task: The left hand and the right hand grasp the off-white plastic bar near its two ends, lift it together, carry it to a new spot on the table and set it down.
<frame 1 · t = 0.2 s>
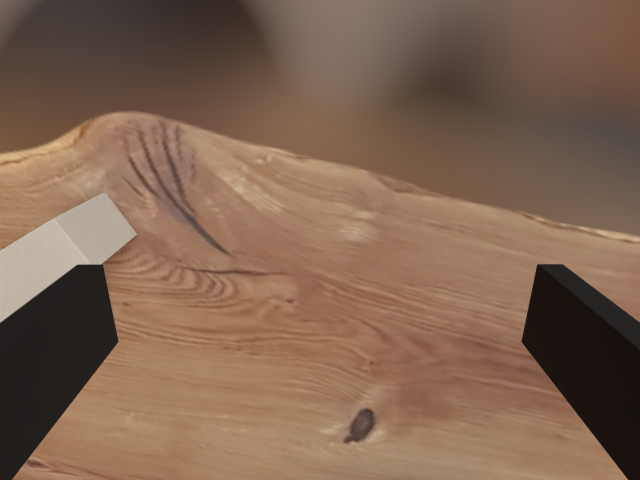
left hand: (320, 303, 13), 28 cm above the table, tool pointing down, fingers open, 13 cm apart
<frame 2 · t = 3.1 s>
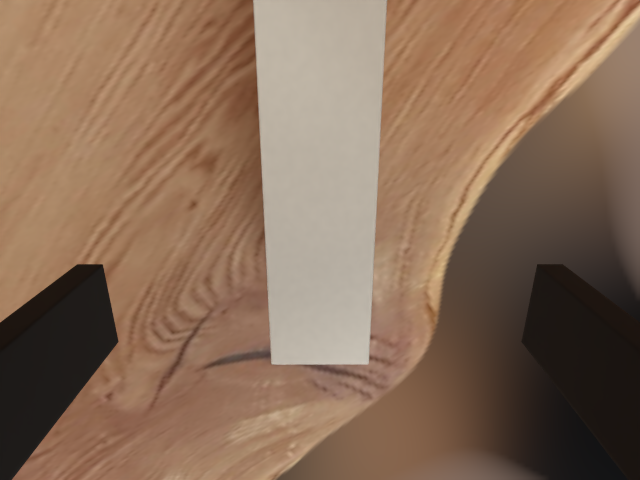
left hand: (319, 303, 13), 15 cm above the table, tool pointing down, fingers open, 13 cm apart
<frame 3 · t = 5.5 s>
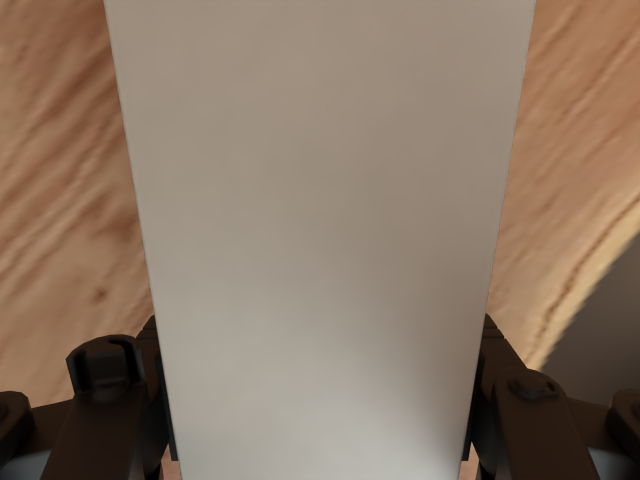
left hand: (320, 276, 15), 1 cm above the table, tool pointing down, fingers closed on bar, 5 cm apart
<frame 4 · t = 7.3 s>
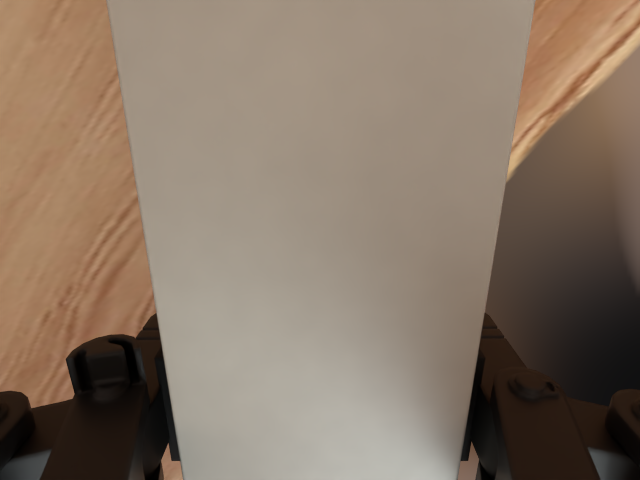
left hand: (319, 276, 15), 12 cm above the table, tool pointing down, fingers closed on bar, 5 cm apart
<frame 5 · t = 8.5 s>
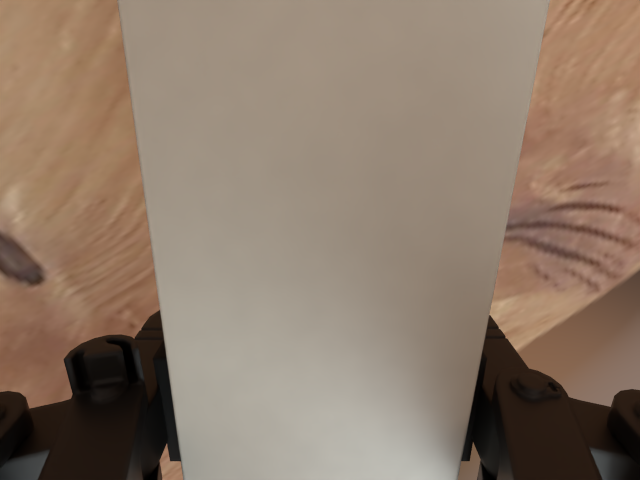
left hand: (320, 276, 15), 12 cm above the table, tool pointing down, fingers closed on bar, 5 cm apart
when the left hand's fingers open (2 cm above the table, at t = 11.6 s): bar drops 1 cm, on the table.
when the right hand's fingers open (5 cm above the table, at t = 11.8 s): bar stays where it is, on the table.
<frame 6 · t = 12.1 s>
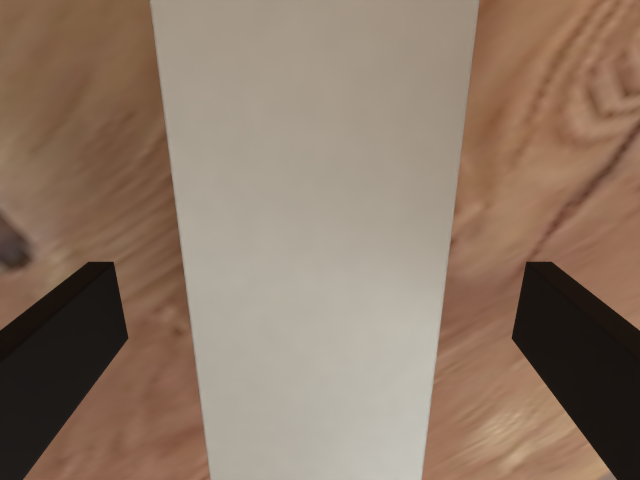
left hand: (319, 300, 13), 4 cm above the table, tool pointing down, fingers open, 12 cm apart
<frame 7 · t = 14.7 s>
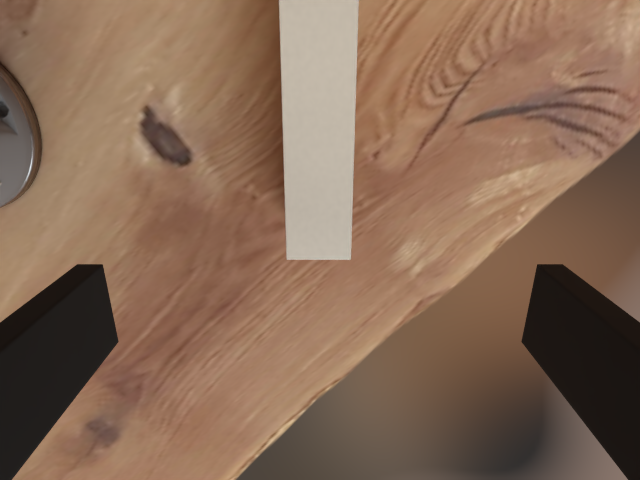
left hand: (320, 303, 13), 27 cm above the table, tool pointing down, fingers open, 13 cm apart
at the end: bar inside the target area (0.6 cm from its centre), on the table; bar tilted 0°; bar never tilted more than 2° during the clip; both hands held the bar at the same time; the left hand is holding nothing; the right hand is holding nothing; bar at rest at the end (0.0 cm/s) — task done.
